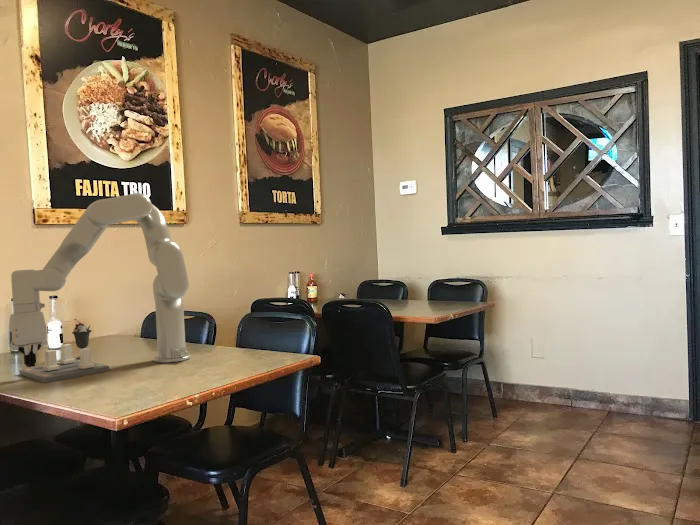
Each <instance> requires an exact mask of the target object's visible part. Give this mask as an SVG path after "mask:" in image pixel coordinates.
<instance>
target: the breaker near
mask: <svg viewBox="0 0 700 525" xmlns="http://www.w3.org/2000/svg"><path fill="white" fill-rule="evenodd" d="M79 357H80V364H78V368H82V369H85V368H90V367H94V364H93V363H92V362H93V360H92V359H93V358H92V348H90V347H86V348H83V349H80V348H79Z"/></svg>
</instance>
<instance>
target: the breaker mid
mask: <svg viewBox="0 0 700 525" xmlns="http://www.w3.org/2000/svg"><path fill="white" fill-rule="evenodd" d="M44 362H45V365H46V366H45V365H42V366H43V369H44V370H47V371H50V370H55V369H60V366H59V365H57V363H58V362H57V350H55V349H48V350H44Z"/></svg>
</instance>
